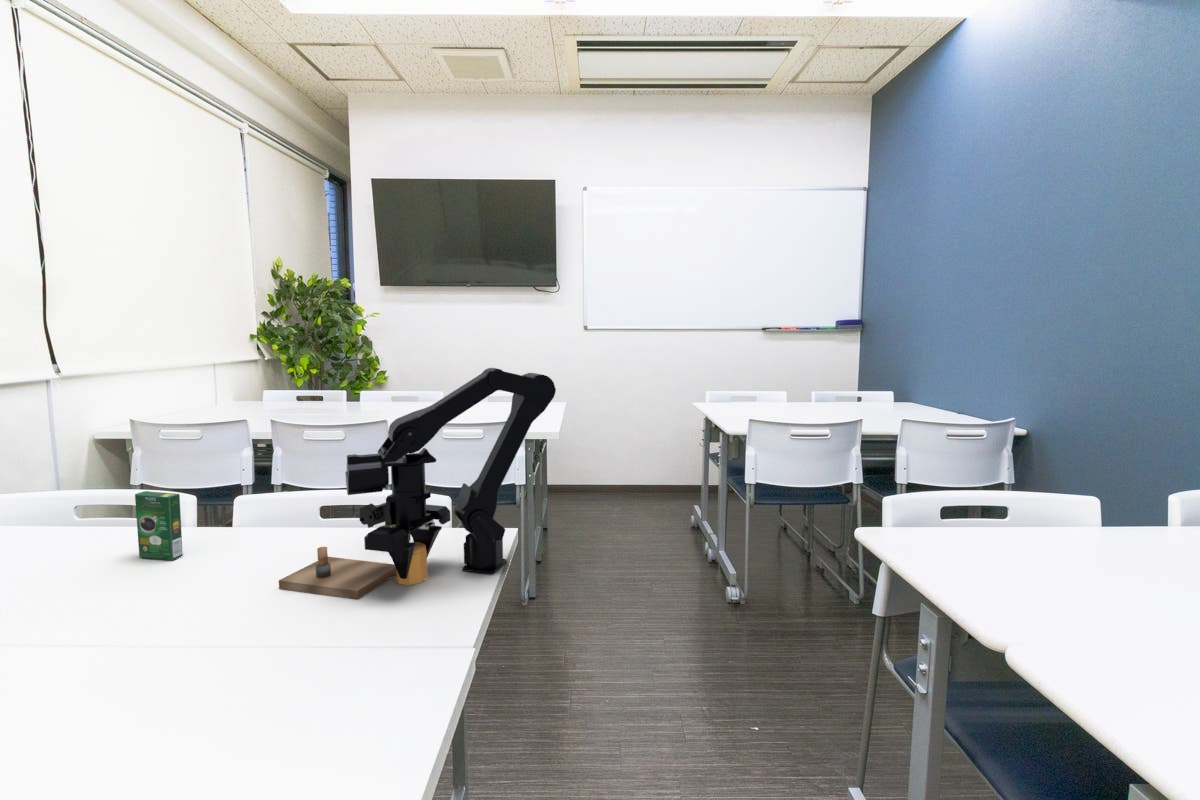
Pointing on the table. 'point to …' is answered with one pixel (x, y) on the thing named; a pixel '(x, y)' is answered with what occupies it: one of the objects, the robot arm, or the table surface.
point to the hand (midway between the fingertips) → (411, 572)
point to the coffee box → (159, 525)
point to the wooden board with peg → (338, 576)
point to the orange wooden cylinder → (416, 566)
